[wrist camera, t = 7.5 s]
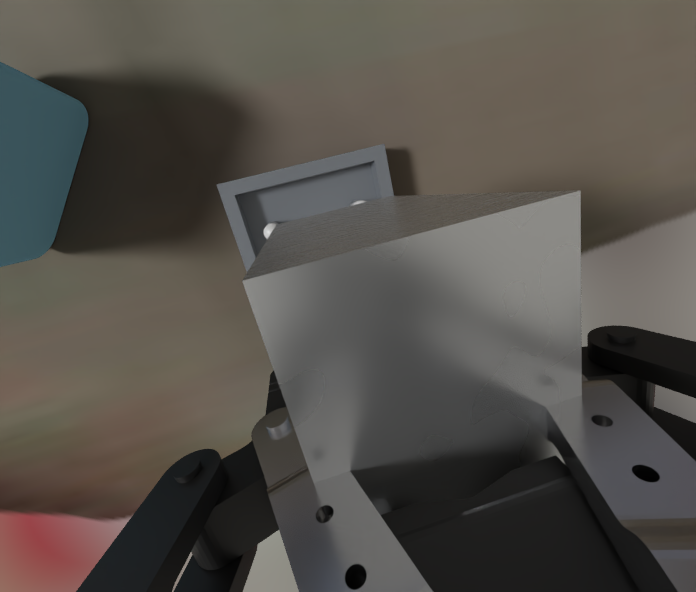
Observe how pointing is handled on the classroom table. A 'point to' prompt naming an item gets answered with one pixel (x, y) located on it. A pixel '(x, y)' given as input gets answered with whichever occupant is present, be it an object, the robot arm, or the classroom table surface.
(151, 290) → the classroom table surface
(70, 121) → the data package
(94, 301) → the classroom table surface
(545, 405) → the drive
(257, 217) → the tray
